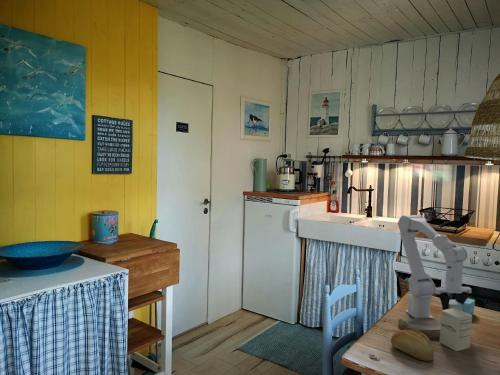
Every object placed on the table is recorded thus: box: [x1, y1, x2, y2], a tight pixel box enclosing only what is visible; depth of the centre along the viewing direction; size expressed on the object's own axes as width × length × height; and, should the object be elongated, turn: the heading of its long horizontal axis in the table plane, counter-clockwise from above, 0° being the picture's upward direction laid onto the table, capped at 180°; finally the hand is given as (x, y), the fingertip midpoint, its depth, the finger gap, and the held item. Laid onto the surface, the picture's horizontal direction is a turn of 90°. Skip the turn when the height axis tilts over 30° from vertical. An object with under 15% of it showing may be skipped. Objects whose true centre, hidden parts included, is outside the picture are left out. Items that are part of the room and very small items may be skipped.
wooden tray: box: [397, 317, 441, 339], centre depth 156 cm, size 12×15×3 cm
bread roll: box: [390, 328, 435, 362], centre depth 138 cm, size 10×15×8 cm, turn 41°
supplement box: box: [439, 308, 473, 352], centre depth 144 cm, size 7×7×13 cm
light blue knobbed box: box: [454, 297, 476, 315], centre depth 173 cm, size 12×6×8 cm, turn 134°
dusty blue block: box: [441, 299, 462, 311], centre depth 155 cm, size 5×5×5 cm
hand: (451, 310), depth 155 cm, fingers closed on dusty blue block, 5 cm apart
